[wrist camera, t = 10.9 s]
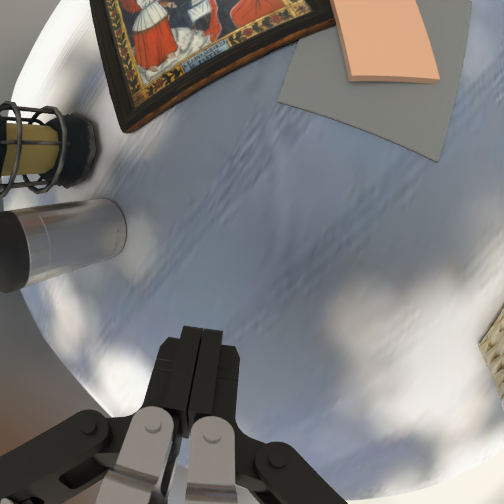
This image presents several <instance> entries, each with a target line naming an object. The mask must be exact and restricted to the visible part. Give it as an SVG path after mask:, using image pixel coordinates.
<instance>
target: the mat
mask: <svg viewBox="0 0 504 504" xmlns="http://www.w3.org/2000/svg"><path fill="white" fill-rule="evenodd" d="M415 1H416V4H417V6H418V9H419V12H420V14H421V17H422V20H423V23H424V26H425V29H426V32H427V35H428V38H429V41H430V44H431V48H432V51H433V54H434V58H435V62H436V65H437V69H438V73H439V77H440V80H439V81H437V82H436V83H435V84H425V83H410V82H386V81H349V79H348V74H347V69H346V65H345V60H344V55H343V51H342V46H341V42H340V38H339V33H338V29H337V25H334V26H332V27H329V28H326V29H323V30H320V31H318V32H315V33H313V34H310V35H307V36H305V37H303V38H300V39H299V41H298V44H297V46H296V49H295V52H294V55H293V57H292V60H291V63H290V66H289V68H288V71H287V74H286V77H285V79H284V82H283V85H282V88H281V90H280V93H279V96H278V99H277V102H278V103H282V104H285V105H289V106H292V107H296V108H299V109H302V110H305V111H309V112H312V113H315V114H318V115H321V116H324V117H327V118H330V119H333V120H336V121H339V122H341V123H344V124H347V125H350V126H352V127H355V128H358V129H360V130H363V131H366V132H368V133H371V134H373V135H376V136H378V137H381V138H383V139H386V140H388V141H390V142H393V143H395V144H397V145H400V146H402V147H404V148H407V149H409V150H411V151H413V152H415V153H418V154H420V155H422V156H424V157H426V158H428V159H430V160H432V161H434V162H436V163H437V162H438V160H439V157H440V154H441V151H442V147H443V144H444V141H445V137H446V134H447V130H448V126H449V123H450V119H451V115H452V111H453V107H454V103H455V99H456V95H457V91H458V86H459V82H460V77H461V72H462V67H463V61H464V56H465V50H466V44H467V37H468V30H469V23H470V14H471V5H472V1H470V0H415Z"/></svg>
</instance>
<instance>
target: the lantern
mask: <svg viewBox="0 0 504 504" xmlns="http://www.w3.org/2000/svg"><path fill="white" fill-rule="evenodd" d="M2 110H13V112H14V114H15V116H16V117H3V116H1V115H0V178H1V176H9V175H11V177H10V180H9V183H8V184H0V189H4V190H3V191H2V192H0V198H2V197H5V196H6V195H7V193H8V192H9V191H10V189H11V188H20V187H28V188H29V190H31V191H33V192H34V193H36V194H40V193H44V192H48V191H49V190H50V189H51V188H52V187H53V186H54V185H58V186H61V185H62V186H63V187H64V188H66V189H68V188H70V187H72V186H73V185H75V184H77V183H79V182H81V181H83V180H85V178H86V177H87V174H88V171H89V168H90V166H91V163H92V160H93V158H94V155H95V153H96V146H95V139H94V132H93V125H92V122H91V121H89V120H88V119H86V118H84V117H83V116H81V115H80V114H78V113H76V112H75V113H73V114H71V115H68V114H67V115H65V116H64V115H62V114H61V112H60V111H59V110H58V108H56V107H51V106H45V107H43V108H41V109H38V108H29V107H19V106H17V105H16V103H15V102H10V101H5V102H4V103H2V104H1V105H0V112H1V111H2ZM20 111H30V112H36V113H35V114H34V115H33V117H32V118H21V114H20ZM41 113H48V114H55V115H56V116H57V118H54V119H52V120H50V121H48V122H47V123H46V124H44V123H43V122H42V121H40V120H38V119H36V118H37V117H38V116H39V115H40V114H41ZM6 120H10V121H16V123H17V124H14V123H6ZM22 121H26V122H29V123H28V124H22ZM33 122H36V123H39V124H40V125H32V123H33ZM26 174H39V175H40V176H41V177H40V178H39V179H38V181H33V182H30V181H29V179H28V178H27V175H26ZM16 175H22V176H23V180H24V181H25V182H21V183H14V180H15V177H16ZM42 179H44V180H46V181H41V180H42ZM46 184H47V186H46V187H45V188H41V189H38V188H36V187H34V186H36V185H46Z"/></svg>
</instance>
